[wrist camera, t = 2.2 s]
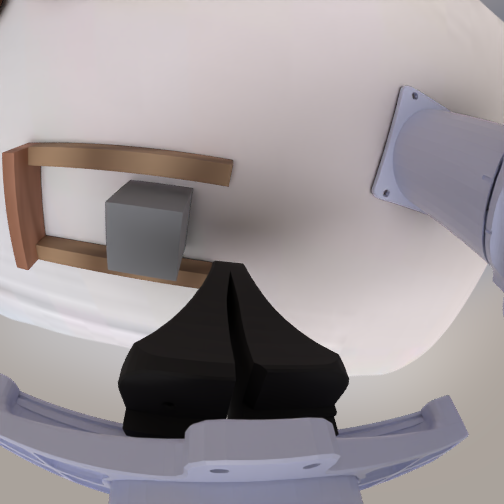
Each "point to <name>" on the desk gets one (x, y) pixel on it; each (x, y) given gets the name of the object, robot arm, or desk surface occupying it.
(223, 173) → the channel
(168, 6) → the desk surface
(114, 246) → the grey cube
